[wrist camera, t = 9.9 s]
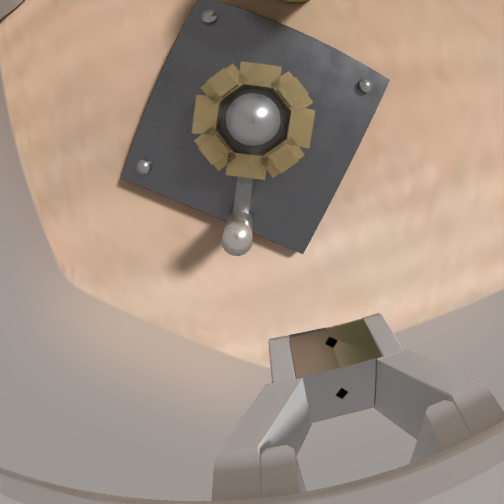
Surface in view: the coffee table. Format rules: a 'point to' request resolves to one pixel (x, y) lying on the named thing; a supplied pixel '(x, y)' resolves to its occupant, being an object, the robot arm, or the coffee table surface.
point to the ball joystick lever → (249, 163)
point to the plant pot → (294, 0)
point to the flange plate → (294, 185)
